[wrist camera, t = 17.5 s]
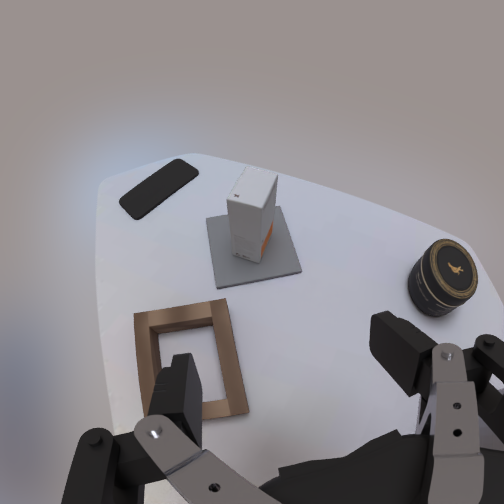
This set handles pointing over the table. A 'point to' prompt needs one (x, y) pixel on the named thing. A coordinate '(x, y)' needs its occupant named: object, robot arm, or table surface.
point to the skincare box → (252, 212)
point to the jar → (443, 278)
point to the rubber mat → (245, 271)
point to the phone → (157, 188)
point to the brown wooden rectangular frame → (183, 319)
